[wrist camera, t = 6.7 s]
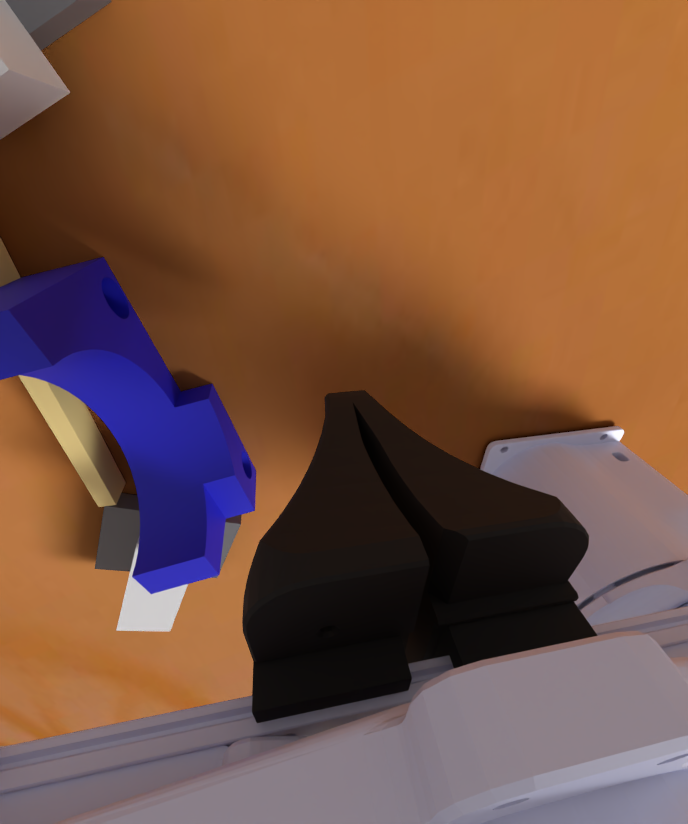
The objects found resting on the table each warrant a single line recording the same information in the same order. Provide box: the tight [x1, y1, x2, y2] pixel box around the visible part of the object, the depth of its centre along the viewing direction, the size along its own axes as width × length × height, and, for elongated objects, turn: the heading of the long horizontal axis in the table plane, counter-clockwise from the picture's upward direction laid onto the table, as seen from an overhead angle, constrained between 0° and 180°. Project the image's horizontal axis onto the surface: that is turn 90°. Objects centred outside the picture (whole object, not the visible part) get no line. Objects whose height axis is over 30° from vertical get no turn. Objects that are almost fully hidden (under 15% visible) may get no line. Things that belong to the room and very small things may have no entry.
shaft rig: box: [0, 0, 241, 631], centre depth 13 cm, size 9×31×4 cm, turn 179°
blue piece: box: [0, 257, 256, 594], centre depth 14 cm, size 12×4×6 cm, turn 11°
